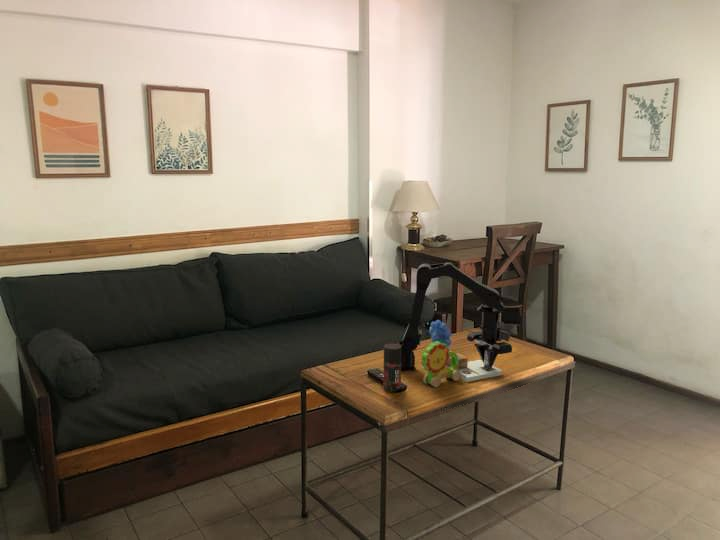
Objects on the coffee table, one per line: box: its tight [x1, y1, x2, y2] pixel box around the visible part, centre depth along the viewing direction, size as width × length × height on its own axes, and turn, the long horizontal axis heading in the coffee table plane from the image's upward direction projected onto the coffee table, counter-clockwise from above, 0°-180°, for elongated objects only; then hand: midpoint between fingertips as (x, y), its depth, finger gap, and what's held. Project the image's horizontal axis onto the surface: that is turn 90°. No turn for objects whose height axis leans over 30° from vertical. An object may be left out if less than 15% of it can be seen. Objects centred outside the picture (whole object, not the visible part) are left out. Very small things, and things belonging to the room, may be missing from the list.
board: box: [447, 359, 504, 383], centre depth 213 cm, size 16×13×2 cm
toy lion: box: [421, 341, 461, 388], centre depth 202 cm, size 16×5×15 cm, turn 126°
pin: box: [484, 348, 492, 371], centre depth 212 cm, size 3×3×7 cm
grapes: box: [428, 319, 452, 348], centre depth 238 cm, size 12×7×12 cm, turn 40°
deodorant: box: [382, 343, 402, 392], centre depth 197 cm, size 6×6×15 cm
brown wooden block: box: [446, 352, 469, 369], centre depth 214 cm, size 6×6×4 cm
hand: (487, 364), depth 213 cm, fingers closed on pin, 3 cm apart
